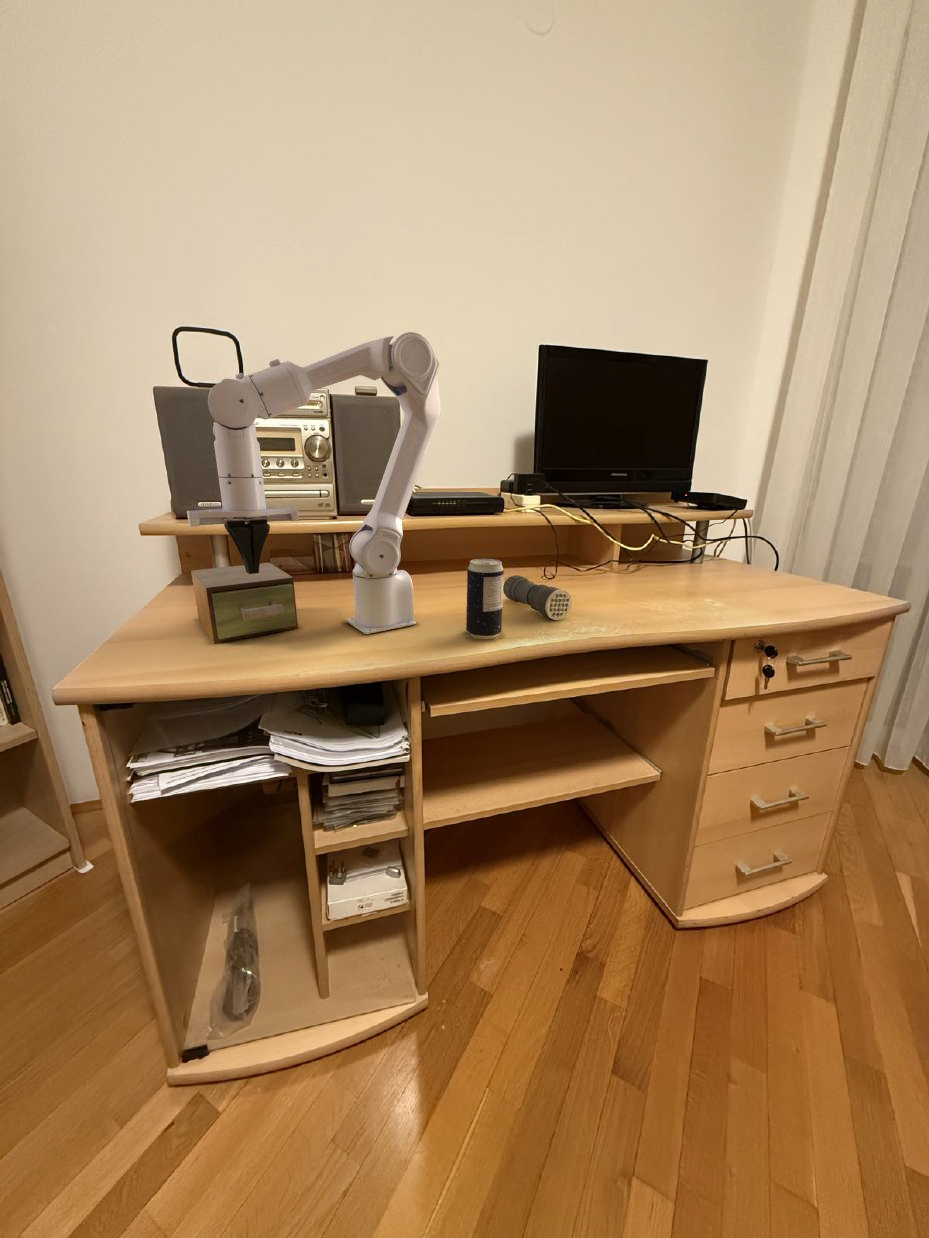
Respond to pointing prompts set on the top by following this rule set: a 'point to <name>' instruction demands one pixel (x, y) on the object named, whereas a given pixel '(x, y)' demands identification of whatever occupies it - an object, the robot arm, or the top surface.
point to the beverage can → (484, 598)
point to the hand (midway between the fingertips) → (252, 572)
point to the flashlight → (538, 597)
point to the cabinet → (232, 580)
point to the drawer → (253, 610)
